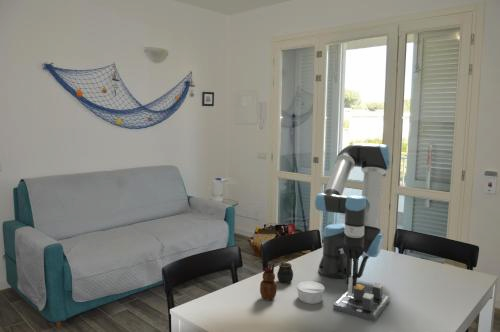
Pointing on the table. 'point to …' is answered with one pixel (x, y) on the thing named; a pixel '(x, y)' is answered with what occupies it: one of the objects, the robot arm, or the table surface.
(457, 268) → the table surface
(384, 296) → the panel
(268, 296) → the wooden figurine
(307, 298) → the ramekin
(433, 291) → the table surface
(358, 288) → the block
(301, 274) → the table surface
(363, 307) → the breaker near
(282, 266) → the mate gourd
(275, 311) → the table surface
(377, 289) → the block
